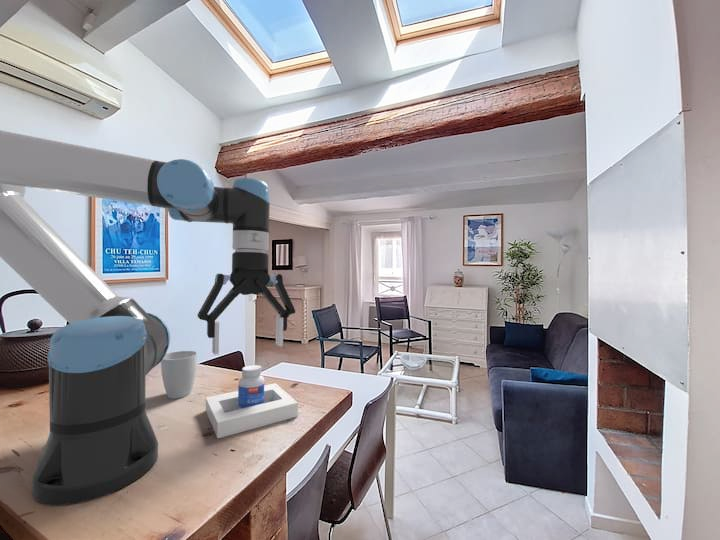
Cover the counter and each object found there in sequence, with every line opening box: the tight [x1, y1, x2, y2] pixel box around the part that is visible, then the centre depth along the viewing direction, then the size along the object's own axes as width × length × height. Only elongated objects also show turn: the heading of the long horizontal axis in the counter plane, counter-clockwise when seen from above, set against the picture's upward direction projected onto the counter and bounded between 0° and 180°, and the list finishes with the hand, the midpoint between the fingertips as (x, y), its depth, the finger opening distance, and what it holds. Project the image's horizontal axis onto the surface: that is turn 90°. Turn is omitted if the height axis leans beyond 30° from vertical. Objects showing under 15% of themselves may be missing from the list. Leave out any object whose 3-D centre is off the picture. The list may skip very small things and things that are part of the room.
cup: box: [160, 350, 198, 399], centre depth 81 cm, size 8×8×10 cm
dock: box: [205, 383, 299, 439], centre depth 73 cm, size 16×20×3 cm
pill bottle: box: [237, 364, 265, 409], centre depth 70 cm, size 6×5×10 cm
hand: (249, 349), depth 70 cm, fingers open, 13 cm apart
